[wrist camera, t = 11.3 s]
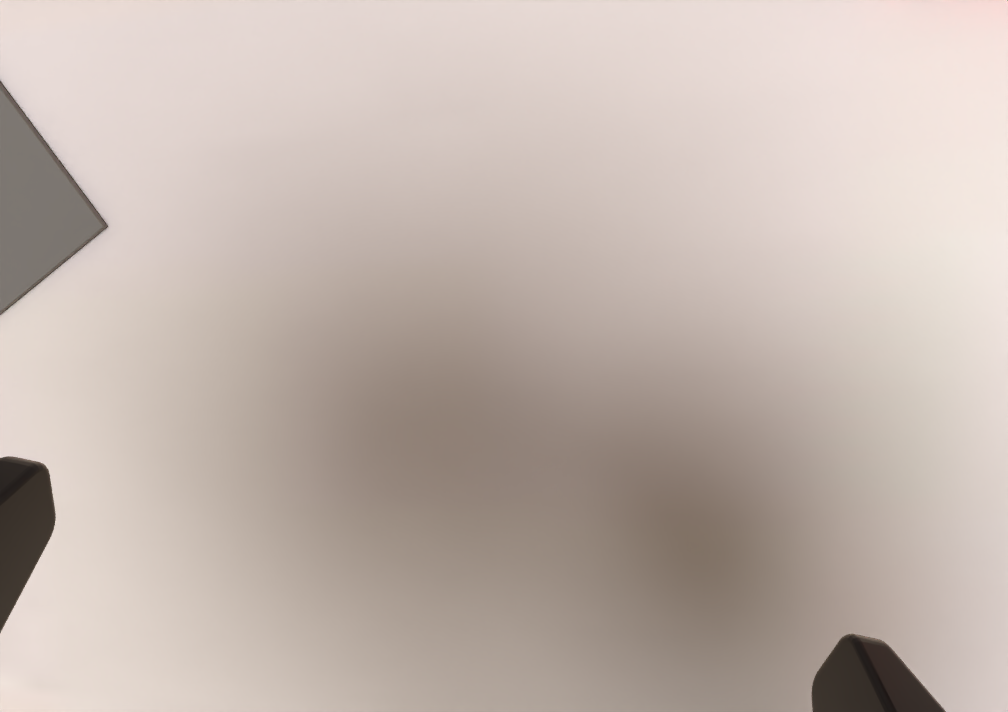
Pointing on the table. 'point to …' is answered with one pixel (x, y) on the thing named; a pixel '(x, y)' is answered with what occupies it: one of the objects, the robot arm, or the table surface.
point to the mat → (35, 207)
